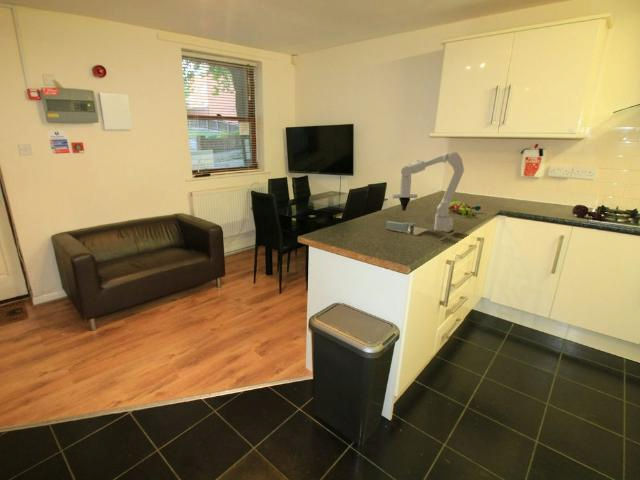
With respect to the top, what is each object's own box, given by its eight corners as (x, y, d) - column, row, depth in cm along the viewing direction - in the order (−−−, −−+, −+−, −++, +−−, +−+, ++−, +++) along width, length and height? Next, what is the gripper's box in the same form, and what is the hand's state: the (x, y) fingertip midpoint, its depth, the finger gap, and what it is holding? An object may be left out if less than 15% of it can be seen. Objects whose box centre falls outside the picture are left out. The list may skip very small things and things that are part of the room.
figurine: (602, 223, 222) (571, 213, 234) (609, 212, 219) (577, 202, 230) (600, 225, 215) (568, 215, 227) (606, 213, 212) (574, 203, 223)
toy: (453, 208, 257) (455, 198, 255) (487, 215, 234) (489, 203, 232) (432, 210, 245) (434, 200, 243) (467, 218, 222) (468, 206, 220)
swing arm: (416, 231, 187) (417, 223, 185) (414, 232, 183) (414, 225, 182) (388, 227, 195) (388, 219, 194) (385, 228, 192) (386, 221, 190)
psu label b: (414, 230, 190) (414, 230, 190) (410, 231, 188) (410, 231, 188) (404, 228, 194) (404, 228, 194) (401, 229, 191) (401, 229, 191)
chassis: (428, 231, 193) (428, 222, 191) (416, 236, 182) (416, 227, 181) (399, 225, 204) (400, 217, 203) (387, 230, 194) (387, 222, 192)
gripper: (415, 186, 198) (413, 208, 202) (391, 186, 197) (389, 209, 201) (419, 187, 191) (417, 211, 195) (395, 188, 190) (393, 211, 194)
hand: (403, 210), depth 198 cm, fingers closed
